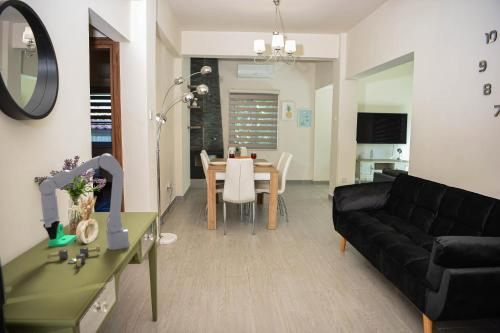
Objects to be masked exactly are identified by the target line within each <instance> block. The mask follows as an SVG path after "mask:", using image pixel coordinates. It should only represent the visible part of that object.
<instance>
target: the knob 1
mask: <svg viewBox="0 0 500 333" xmlns="http://www.w3.org/2000/svg"><path fill="white" fill-rule="evenodd" d="M68 252H69V251H68V249H65V248H64V249H61V250H58V252H55V253H51V251H47V252H46V259H47V260H49V259H51V258H55V257H58V258H59V259H58V260H59V261H65V260H69V253H68Z"/></svg>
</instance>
